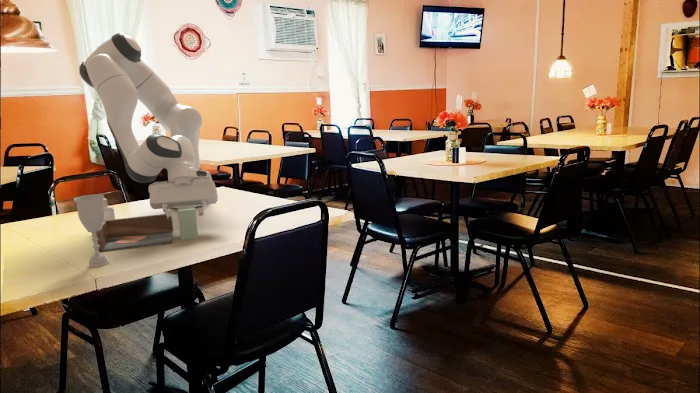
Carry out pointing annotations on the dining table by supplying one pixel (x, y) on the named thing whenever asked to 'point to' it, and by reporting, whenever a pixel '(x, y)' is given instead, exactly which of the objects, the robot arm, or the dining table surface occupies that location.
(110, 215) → the eye dropper bottle
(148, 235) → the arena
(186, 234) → the sage block
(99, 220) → the chalice
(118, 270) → the dining table surface
